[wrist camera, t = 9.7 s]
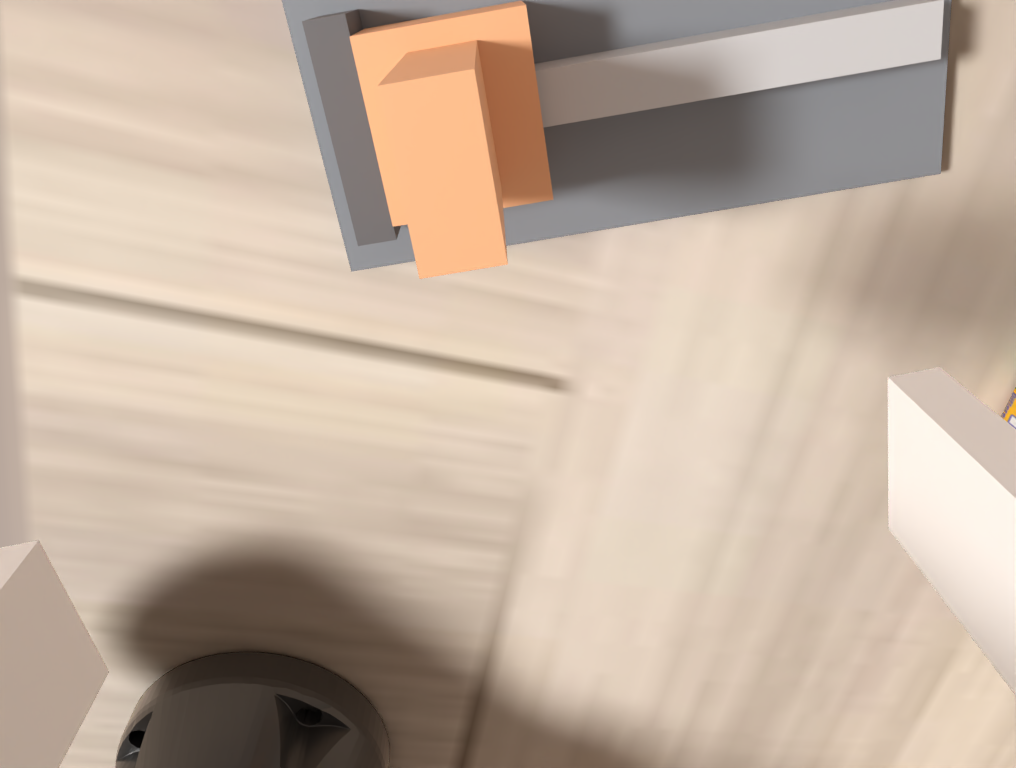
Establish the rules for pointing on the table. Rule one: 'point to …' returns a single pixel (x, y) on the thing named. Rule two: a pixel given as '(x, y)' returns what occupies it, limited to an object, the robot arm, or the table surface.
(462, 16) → the slider
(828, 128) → the rail
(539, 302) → the table surface
